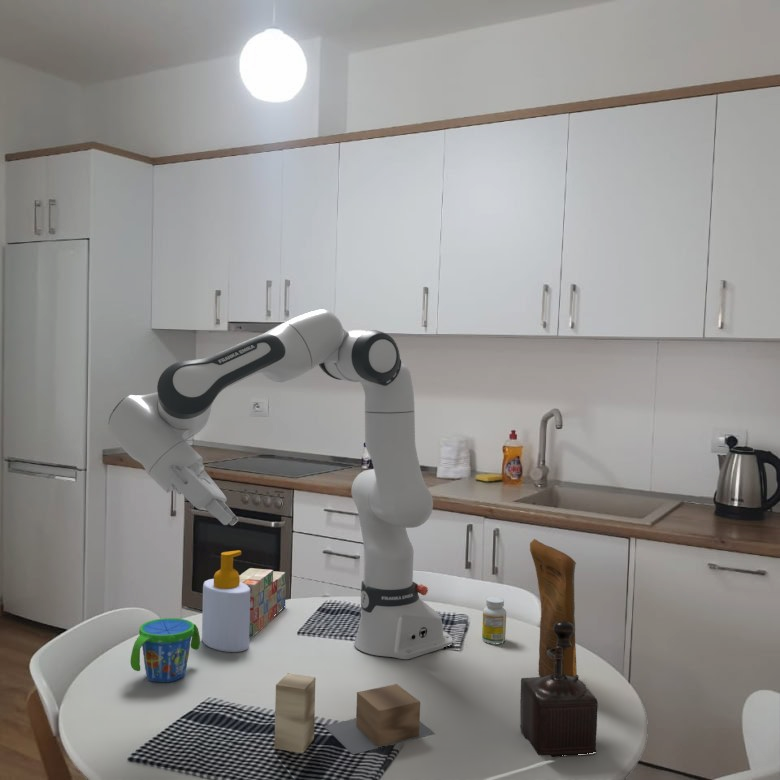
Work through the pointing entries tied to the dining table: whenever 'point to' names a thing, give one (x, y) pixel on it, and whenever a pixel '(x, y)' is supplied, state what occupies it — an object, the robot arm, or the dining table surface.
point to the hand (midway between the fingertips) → (232, 522)
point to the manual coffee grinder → (558, 707)
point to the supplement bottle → (494, 621)
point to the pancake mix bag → (554, 604)
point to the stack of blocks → (264, 595)
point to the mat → (363, 736)
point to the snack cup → (165, 648)
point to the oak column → (294, 712)
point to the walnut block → (387, 714)
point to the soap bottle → (226, 608)
